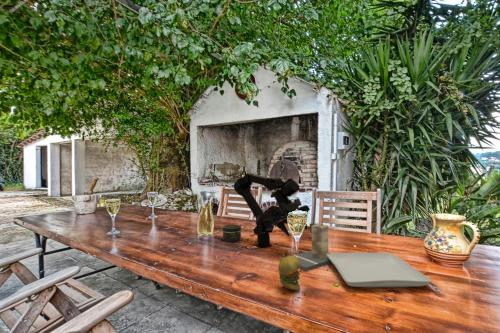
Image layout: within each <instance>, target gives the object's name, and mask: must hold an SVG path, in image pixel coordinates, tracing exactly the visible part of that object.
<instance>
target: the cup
mask: <svg viewBox="0 0 500 333" xmlns="http://www.w3.org/2000/svg"><path fill="white" fill-rule="evenodd" d="M316 224H319V223H318V222H317V223H316V222H314V223H312V222H311V223H309V231H310V235H311V236H312V232H311V226H313V225H316ZM320 224H321V225H323V223H320Z"/></svg>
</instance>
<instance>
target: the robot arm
mask: <svg viewBox="0 0 500 333" xmlns="http://www.w3.org/2000/svg"><path fill="white" fill-rule="evenodd" d="M253 183H254V184H258V185H262V186H263V187H264V188H266V189H267V190H269V191H271V194H270V198H274V199H275V201H276V204H277V206H278V207H277V208H278V210H280V213H281V214H276V215H274V216H272V215H271V214H270V213H265V212H264V211H263V209H262V208H261V206H260V205H259V203H258V201H257V200H256V198H255V197H254V194H253V193H252V191H251V190H252V188H251V186H252V185H253ZM233 189H234V191H235V192H236V194H237V195H239V196H240V197H242V198H243V200H244V202H246V205H247V206H248V208H249V209H250V211H251V213H252V214H253V216H254V218H255V227H254V228H253V230H252V231H253V233H254V234H255V235H256V236H257V237H256V239H257V241H256V242H257V243H254V246H257V247H259V248H261V249H262V248H267V247H272V246H273V244H272V243H271V238H270V236H271V234H272V233H273V230H274V228H276V227H277V228H278V229H280V231H282V232H283V233H284V234H285V235H286V236H287V237H291V235H290V232H289V230H288V228H287V227H286V225H285V224H286V223H285V221H284V220H286V219H288V218H287V216H288V213H289V212H292V211H296V210H302V211H307V212H308V213H309V211H310V209H311V208H310V206H308V205H306V204H305V205H302V202H301V200H300V198H296V199H293V201H292V199H289V197H292V196H293V195H295V194H296V193H297V192H299V191H300V185H299V184H298V183H297V181H295V180H294V179H293V178H291V177H290V178H288V179H287V180H286V181H283V180H282V177H281V178H280V177H266V176H262V175H259V174H254V173H252V172H251V173H245V174H244V175H243V176H242V177H240V178H238V179H237V181H235V182H234V184H233ZM304 229H305V230H308V223H307V224H306V226H305V228H304Z"/></svg>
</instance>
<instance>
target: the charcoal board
mask: <svg viewBox="0 0 500 333" xmlns="http://www.w3.org/2000/svg"><path fill="white" fill-rule="evenodd" d="M329 253H330V252H328V254H329ZM296 255H297V254H293V255H292V256H295V257H296ZM298 259H299V260H300V263H301V266H300V268H299V269H300V270H301V271H304V272H309V271H312V270H315V269H318V268H320V267H325V266H327V265H330V264H333V263H332V262H331V261H330V259H329V258H328V257H326V258H324V259H320V258H316V257H312V250H308V251H304V252H301V253H298ZM299 269H298V270H299Z"/></svg>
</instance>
